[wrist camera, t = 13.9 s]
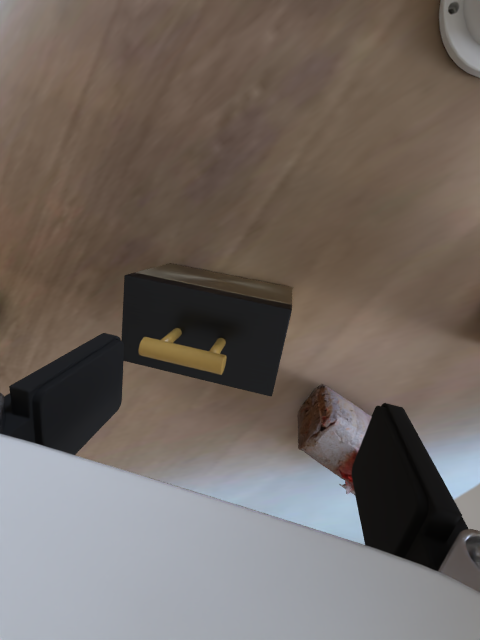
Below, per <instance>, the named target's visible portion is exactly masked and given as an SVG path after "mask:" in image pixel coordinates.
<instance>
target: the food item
mask: <svg viewBox="0 0 480 640" xmlns="http://www.w3.org/2000/svg"><path fill="white" fill-rule="evenodd" d="M370 420H371V416H370V415H368V414H367V413H365V412H364V411H363V410H361V409H360V408H359V407H357V406H356V405H355V404H353V403H352V402H350V401H348V400H347V399H345V398H344V397H342V396H341V395H339V394H338V393H336V392H335V391H333V390H332V389H330V388H329V387H327V386H325V385H322V384H321V385H320V386H319V387H318V388H317V389H315V390H314V391H313V392H312V394H311V395H310V397H309V398H308V399H307V400H306V401H305V403H304V404H303V405H302V406H301V408H300V410H299V412H298V443H299V445H298V449H300V450H303V451H304V452H305V453H307V454H308V455H309V456H311V457H312V458H313V459H315V460H316V461H318V462H319V463H320V464H322V465H323V466H325V467H326V468H328V469H329V470H330V471H332V472H333V473H335V474H336V475H338V476H339V477H340V478H342V479H344V480H345V483H346V484H344V485H341V484H339V485H341V486H342V487H343V488H345V489H346V494H348V493H350V492H351V493H352V494H354V495H355V491H354V486H353V481H352V466H353V463H354V461H355V458H356V456H357V453H358V451H359V448H360V446H361V443H362V440H363V438H364V435H365V433H366V430H367V428H368V425H369V423H370ZM351 488H352V489H351Z"/></svg>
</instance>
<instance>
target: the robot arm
mask: <svg viewBox="0 0 480 640" xmlns="http://www.w3.org/2000/svg"><path fill="white" fill-rule="evenodd" d="M449 12H450V13H451V14H450V13H449ZM439 24H440V33H441V37H442V41H443V44H444V46H445V48H446V50H447V52H448V54H449V56H450V57H451V58H452V60H453V61H454V62H455V63H456V65H457V66H459V67H460V68H461V69H463V70H464V71H466V72H467V73H469V74H471V75H474V76H476V77H479V78H480V0H441V2H440V10H439ZM123 356H124V343H123V342H122V341H121V340H120V338H119V337H118V336H114V335H110V334H106V333H103V334H101V335H99V336H97V337H95V338H94V339H92V340H90V341H88V342H86V343H85V344H83V345H81V346H79V347H78V348H76V349H74V350H72V351H71V352H69V353H67V354H65V355H64V356H62V357H60V358H58V359H57V360H55V361H53V362H51V363H50V364H48V365H46V366H44V367H42V368H41V369H39V370H37V371H35V372H34V373H32V374H30V375H28V376H27V377H25V378H23V379H21V380H20V381H18V382H16V383H14V384H13V385H11V386H9V387H10V394H8V395H6V396H5V397H4V396H3V395H2V394H1V393H0V640H480V531H478V530H473V529H468V527H467V525H466V524H465V522H464V520H463V518H462V514H461V513H460V511H459V509H458V507H457V505H456V503H455V502H454V500H453V498H452V496H451V494H450V492H449V491H448V489H447V487H446V485H445V483H444V482H443V480H442V478H441V476H440V474H439V472H438V471H437V469H436V467H435V465H434V463H433V461H432V460H431V458H430V456H429V454H428V452H427V450H426V449H425V447H424V445H423V443H422V441H421V440H420V438H419V436H418V434H417V432H416V430H415V429H414V427H413V425H412V423H411V421H410V419H409V418H408V416H407V414H406V412H405V410H404V409H403V408H402V407H398V406H394V405H390V404H386V403H384V404H382V406H376V408H375V410H374V412H373V415H372V417H371V420H370V423H369V425H368V428H367V430H366V433H365V435H364V438H363V440H362V443H361V446H360V448H359V451H358V453H357V456H356V458H355V461H354V463H353V466H352V481H353V486H354V491H355V496H356V501H357V506H358V511H359V516H360V521H361V526H362V531H363V536H364V541H365V545H363V544H360V543H357V542H354V541H350V540H347V539H344V538H341V537H338V536H335V535H332V534H328V533H325V532H322V531H319V530H316V529H313V528H309V527H306V526H303V525H300V524H297V523H293V522H290V521H287V520H284V519H281V518H278V517H274V516H271V515H268V514H265V513H262V512H259V511H255V510H252V509H249V508H246V507H243V506H239V505H236V504H233V503H230V502H226V501H223V500H220V499H217V498H214V497H210V496H207V495H204V494H201V493H197V492H194V491H191V490H188V489H184V488H181V487H178V486H175V485H171V484H168V483H165V482H162V481H158V480H155V479H152V478H149V477H145V476H142V475H139V474H135V473H132V472H129V471H125V470H122V469H119V468H115V467H112V466H109V465H106V464H102V463H99V462H96V461H92V460H89V459H86V458H82V457H79V456H76V455H75V454H76V453H77V452H78V451H79V450H80V449H81V448H82V447H83V446H84V445H85V444H86V443H87V442H88V441H89V440H90V439H91V438H92V436H93V435H94V434H95V433H96V432H97V431H98V430H99V429H100V428H101V427H102V426H103V425H104V424H105V423H106V422H107V421H108V420H109V419H110V418H111V417H112V416H113V415H114V414H115V413H116V412H117V410H118V409H119V407H120V405H121V401H122V379H123Z"/></svg>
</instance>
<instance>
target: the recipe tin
mask: <svg viewBox="0 0 480 640" xmlns="http://www.w3.org/2000/svg"><path fill="white" fill-rule="evenodd" d="M292 289H293V288H292V287H287V286H282V285H277V284H272V283H267V282H262V281H257V280H252V279H247V278H242V277H237V276H232V275H227V274H222V273H217V272H212V271H207V270H202V269H197V268H192V267H187V266H182V265H177V264H172V263H169V264H165V265H162V266H158V267H154V268H150V269H147V270H143V271H139V272H135V273H132V274H128V275H125V280H124V301H123V322H122V342H123V343H124V356H123V361H127V362H131V363H135V364H140V365H144V366H148V367H152V368H156V369H160V370H164V371H168V372H173V373H177V374H181V375H185V376H189V377H193V378H197V379H201V380H206V381H210V382H214V383H218V384H222V385H226V386H230V387H234V388H238V389H243V390H247V391H251V392H255V393H259V394H263V395H267V396H272V393H273V389H274V385H275V380H276V376H277V372H278V367H279V363H280V359H281V355H282V350H283V346H284V342H285V337H286V333H287V329H288V324H289V320H290V316H291V311H292Z"/></svg>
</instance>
